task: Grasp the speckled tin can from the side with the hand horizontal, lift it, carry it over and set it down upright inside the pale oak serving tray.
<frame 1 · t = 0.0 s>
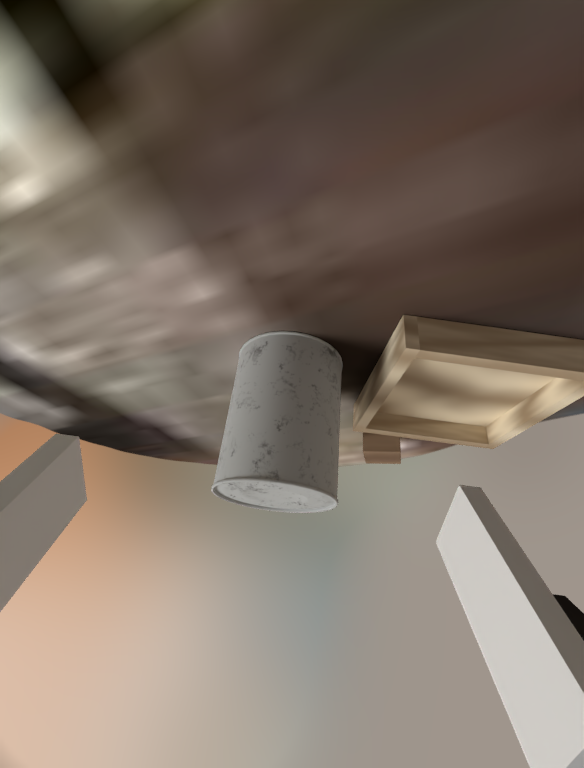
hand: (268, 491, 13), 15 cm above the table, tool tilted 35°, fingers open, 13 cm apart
speckled tin can: (290, 361, 34), on the table
walnut block: (381, 425, 43), on the table
oak tray: (454, 379, 33), on the table
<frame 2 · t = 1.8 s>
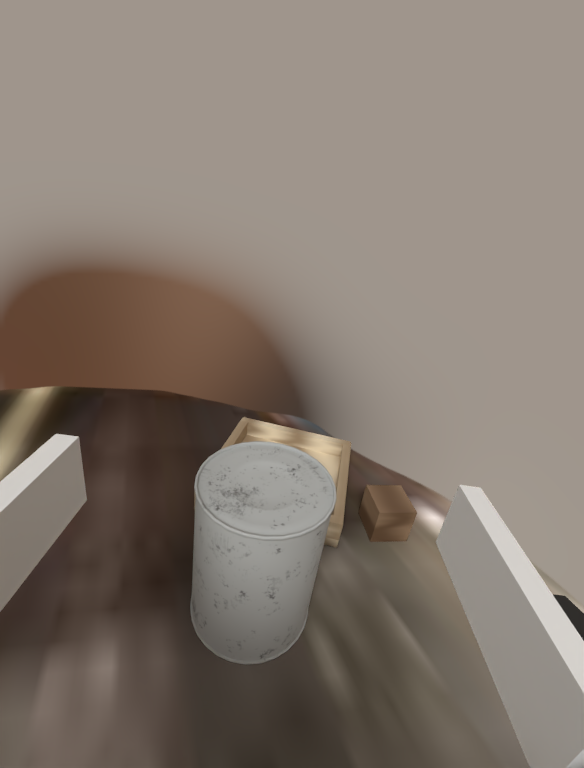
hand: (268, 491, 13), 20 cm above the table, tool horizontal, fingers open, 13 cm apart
speckled tin can: (250, 601, 30), on the table
walnut block: (381, 526, 39), on the table
oak tray: (280, 481, 43), on the table
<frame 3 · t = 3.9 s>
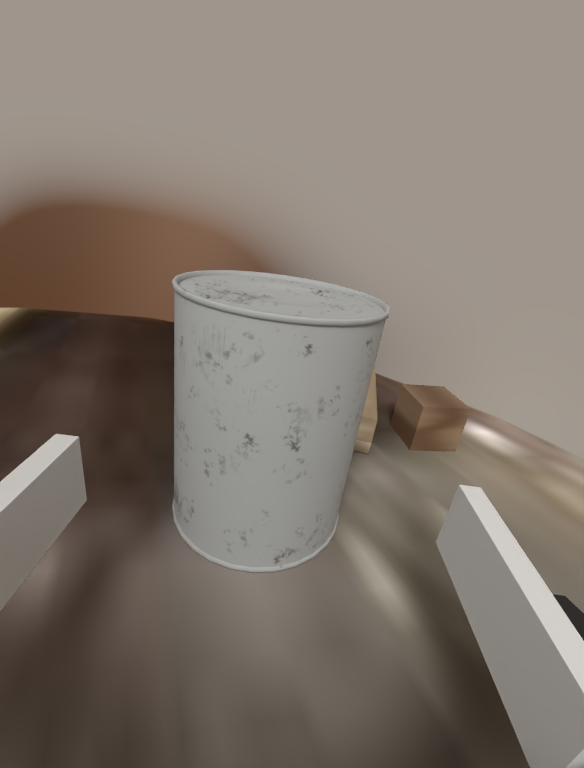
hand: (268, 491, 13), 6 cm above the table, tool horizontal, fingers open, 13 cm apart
speckled tin can: (257, 503, 21), on the table
walnut block: (420, 437, 31), on the table
oak tray: (290, 393, 35), on the table
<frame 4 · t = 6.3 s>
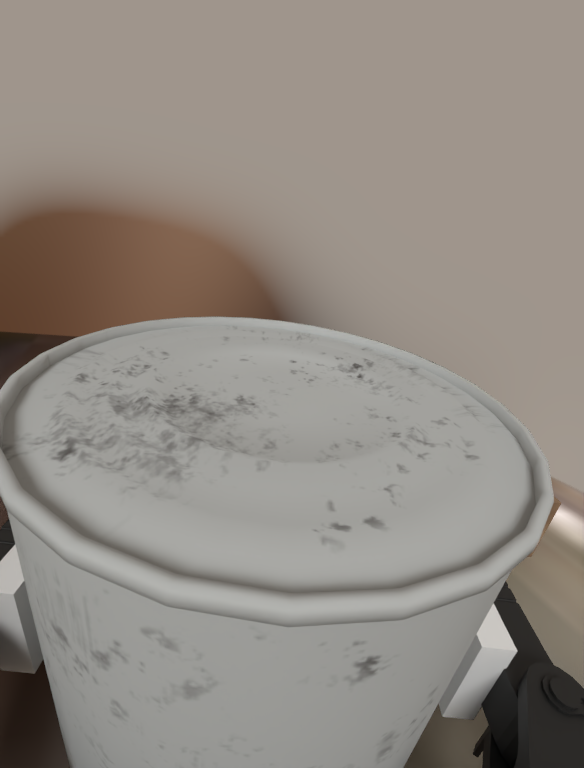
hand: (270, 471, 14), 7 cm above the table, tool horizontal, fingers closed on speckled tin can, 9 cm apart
speckled tin can: (239, 709, 12), on the table, touching gripper
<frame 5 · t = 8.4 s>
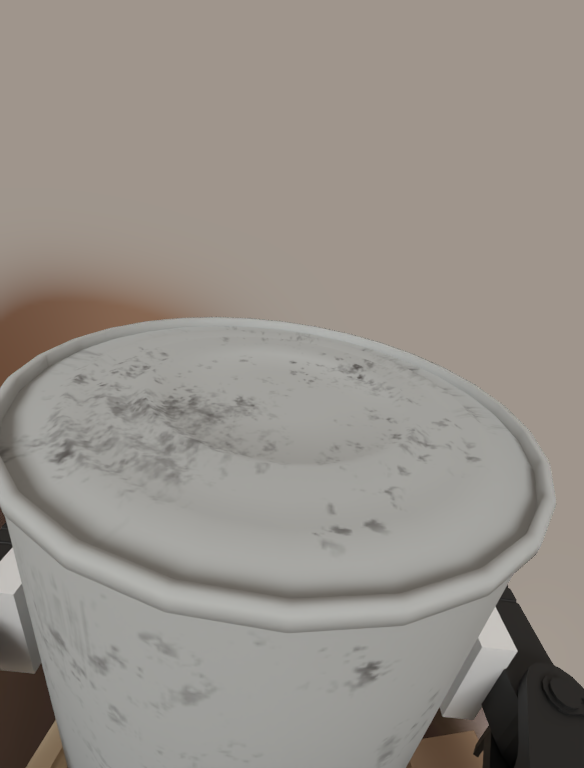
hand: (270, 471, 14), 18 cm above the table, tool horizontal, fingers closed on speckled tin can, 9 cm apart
speckled tin can: (238, 711, 12), point 11 cm above the table, touching gripper
oak tray: (228, 691, 22), on the table
when the fingers open (9 cm above the table, at t = 11.0 s): speckled tin can drops 1 cm, resting on oak tray.
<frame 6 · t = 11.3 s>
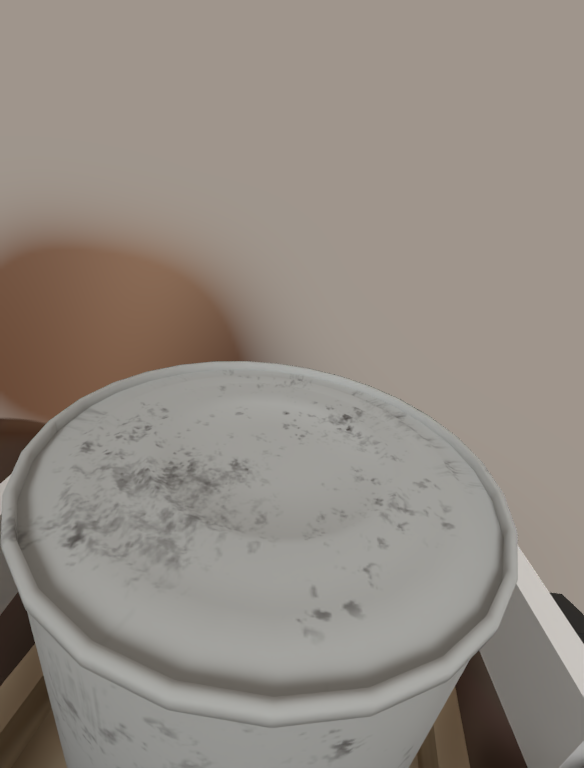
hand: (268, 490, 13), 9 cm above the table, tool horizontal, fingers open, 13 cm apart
speckled tin can: (236, 733, 13), point 1 cm above the table, touching oak tray
oak tray: (234, 742, 13), on the table
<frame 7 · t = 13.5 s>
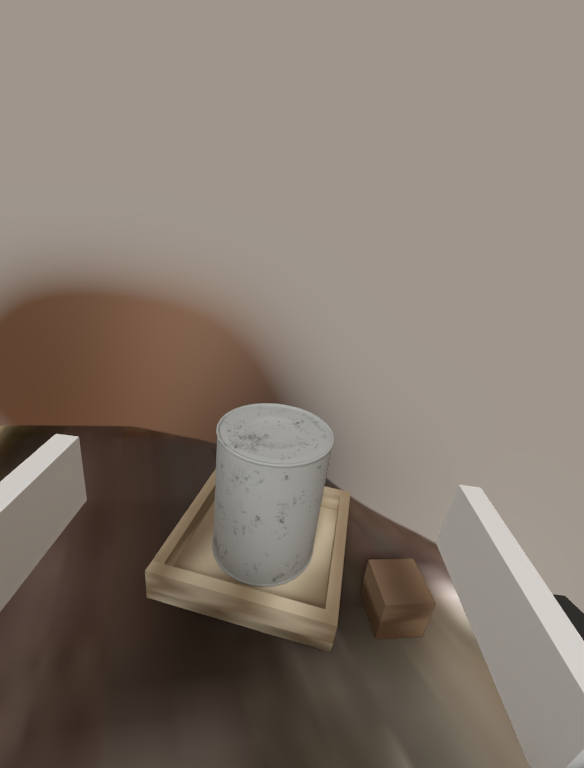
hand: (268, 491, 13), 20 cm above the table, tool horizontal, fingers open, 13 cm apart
speckled tin can: (263, 543, 34), point 1 cm above the table, touching oak tray
walnut block: (389, 613, 30), on the table
oak tray: (262, 548, 35), on the table
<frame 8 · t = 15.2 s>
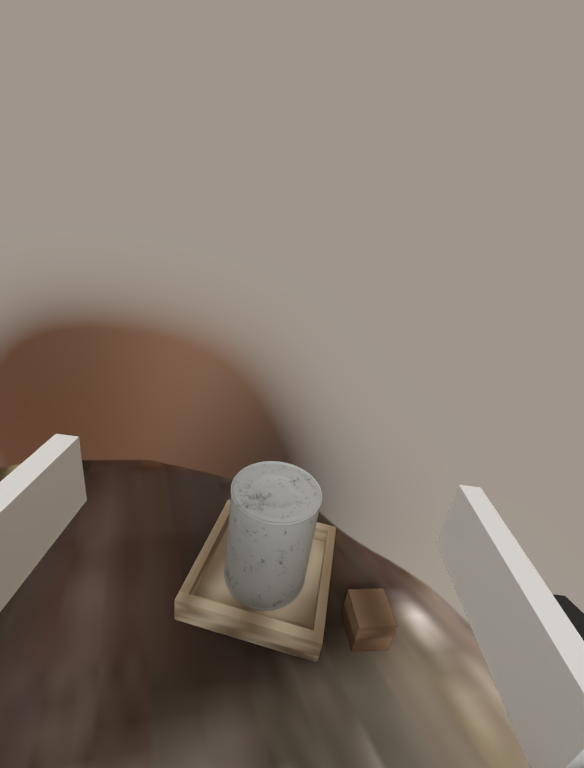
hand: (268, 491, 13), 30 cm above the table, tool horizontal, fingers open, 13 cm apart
speckled tin can: (264, 572, 43), point 1 cm above the table, touching oak tray
walnut block: (363, 631, 39), on the table
oak tray: (263, 576, 43), on the table
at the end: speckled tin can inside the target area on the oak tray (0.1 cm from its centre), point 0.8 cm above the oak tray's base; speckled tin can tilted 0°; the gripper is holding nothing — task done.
